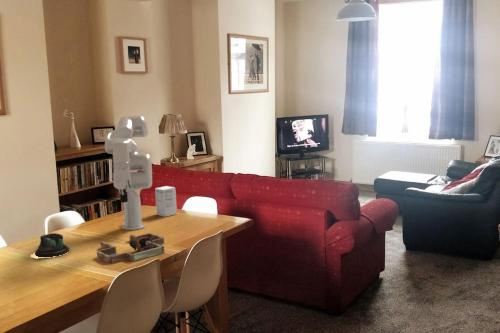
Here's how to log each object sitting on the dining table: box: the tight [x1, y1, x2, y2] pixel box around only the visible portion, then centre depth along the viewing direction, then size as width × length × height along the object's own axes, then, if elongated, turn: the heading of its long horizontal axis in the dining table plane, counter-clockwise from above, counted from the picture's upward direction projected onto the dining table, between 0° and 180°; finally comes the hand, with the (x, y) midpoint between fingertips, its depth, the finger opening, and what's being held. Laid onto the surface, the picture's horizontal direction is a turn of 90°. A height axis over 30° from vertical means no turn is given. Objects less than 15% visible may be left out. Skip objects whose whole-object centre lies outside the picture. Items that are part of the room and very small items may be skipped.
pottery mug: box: [129, 237, 154, 252], centre depth 250 cm, size 12×10×8 cm
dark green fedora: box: [34, 232, 70, 257], centre depth 251 cm, size 20×20×9 cm
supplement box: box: [154, 185, 178, 218], centre depth 321 cm, size 10×9×17 cm
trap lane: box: [96, 232, 165, 264], centre depth 253 cm, size 30×35×3 cm
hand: (124, 201), depth 258 cm, fingers closed
